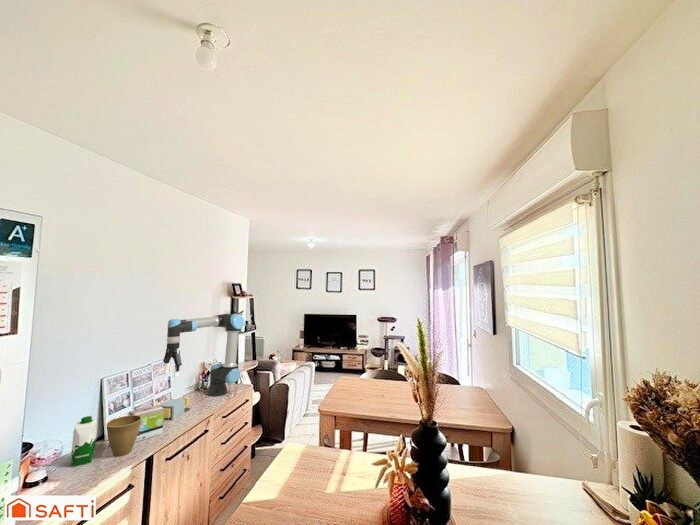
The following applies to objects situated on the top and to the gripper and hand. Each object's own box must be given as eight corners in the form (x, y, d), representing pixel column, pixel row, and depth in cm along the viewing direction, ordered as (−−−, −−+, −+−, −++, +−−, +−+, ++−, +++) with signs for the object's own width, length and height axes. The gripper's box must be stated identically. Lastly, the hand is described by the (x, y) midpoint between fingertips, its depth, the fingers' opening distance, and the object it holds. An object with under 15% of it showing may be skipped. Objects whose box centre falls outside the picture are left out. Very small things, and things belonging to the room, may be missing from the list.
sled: (183, 405, 224) (184, 396, 225) (190, 405, 224) (191, 396, 224) (160, 419, 200) (161, 408, 200) (168, 419, 199) (169, 409, 200)
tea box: (133, 443, 170) (135, 415, 171) (126, 438, 176) (128, 411, 177) (163, 434, 181) (164, 407, 183) (156, 429, 188) (157, 403, 189)
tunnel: (180, 406, 224) (181, 393, 225) (194, 406, 224) (194, 393, 225) (147, 425, 192) (148, 410, 192) (163, 426, 191) (164, 411, 192)
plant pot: (144, 444, 169) (146, 414, 170) (130, 459, 154) (132, 425, 156) (114, 446, 166) (117, 415, 168) (96, 461, 152) (99, 427, 153)
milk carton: (94, 455, 158) (98, 414, 160) (93, 463, 150) (97, 420, 152) (71, 460, 153) (75, 418, 154) (69, 469, 145) (73, 424, 147)
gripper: (158, 341, 214) (156, 372, 212) (176, 345, 200) (175, 379, 198) (170, 339, 220) (168, 370, 219) (188, 343, 206) (186, 376, 204)
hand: (171, 374), depth 208 cm, fingers open, 13 cm apart
